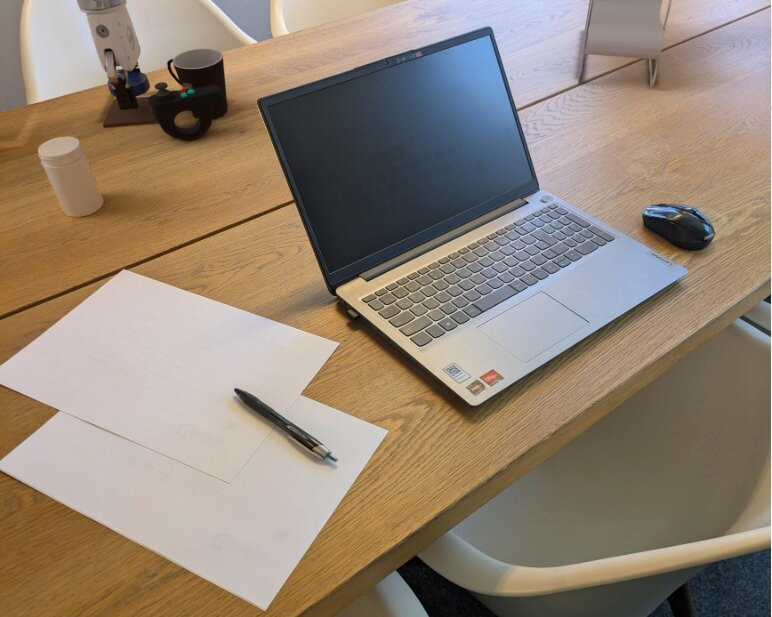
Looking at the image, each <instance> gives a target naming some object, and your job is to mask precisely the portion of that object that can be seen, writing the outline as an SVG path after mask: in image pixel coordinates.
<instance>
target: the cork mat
mask: <svg viewBox="0 0 772 617" xmlns="http://www.w3.org/2000/svg"><path fill="white" fill-rule="evenodd" d="M149 97H150V96H141V97H140V96H136V99H137V102H138V108H137V109H129V110H121V109H120V108H119V105H118V102H117V99H116V98H114V99H113V100H112V102H111V104H110V107H109V109H108V112H107V114H106V116H105V118H104V121H103V123H102V126H103V128H113V127H126V126H127V127H128V126H138V125H150V124H151V125H152V124H158V122H157V120H153V117H152V114H151V112H150V108H152V107H151V106H150V105H149V101H148V98H149Z"/></svg>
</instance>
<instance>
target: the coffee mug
mask: <svg viewBox="0 0 772 617" xmlns="http://www.w3.org/2000/svg"><path fill="white" fill-rule="evenodd" d="M166 65H167V67H166V68H167V70H168V73H169V74H170V75H171V77H172V78H173V79H174V80H175V82H176V83H177V84H178V85H179V86H181V89H191V88H197V87H203V86H208V85H214V84H215V85H218V86H219V88H220V89H221V91H222V92H223V94H224V97H225V98H224V101H223V102H222V103H220V104H219V105H217V106H216V107H214V108H213V120H214V121H215V120H218V119H220V118H223V117H224V116H225V115H227V113H228V112H229V109H228V96H227V86H226V74H225V63H224V54H223V52H221V51H220V50H218V49H215V48H194V49H190V50H185V51H183V52H180V53H179V54H177V55H176V56H174V58H170V59H169V60H167V62H166ZM172 65H173V68H174V70H175V72H176V74H175V73H174V71H173V70H172ZM190 113H191V114H192V117H193V118H194V119H196V120H198V115H197V114H196V113H194V112H192V111H190ZM219 117H220V118H219Z"/></svg>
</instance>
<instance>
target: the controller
mask: <svg viewBox="0 0 772 617" xmlns="http://www.w3.org/2000/svg"><path fill="white" fill-rule="evenodd" d="M168 87H169V84H168V83H167V82H164V81H161V82H158V83H157V82H156V83H155V84H154V89H156V90H157V91H156V93H155V94H152V95H150V96H148V97H149V98H148V101H149V105H150V106H151V107H152V108H150V112H151V114H152V117H153V120H157V122H158V123H157V124H158V126H159V127H160V129H161V130H162V131H163V132H164V133H165V134H166V135H168V136H170V137H171V138H173V139H176V140H179V141H190V140H191V141H192V140H195V139H198V138H200V137H202V136H203V135H205V134H206V132H208V131H209V129H210V128H211V126H212V124H213V108H214V107H216V106H217V105H219V104H220V103H222V102H223V101H224V98H225V97H224V94H223V92H222V91H221V89H220V88H219V86H218V85H215V84H214V85H208V86H203V87H197V88H191V89H183V88H181V89H179V90H169V89H167V88H168ZM191 111H192V112H194V113H196V114H197V115H198V119H196V122H195V123H194V125H192V126H190V127H181V126H179V125H178V124H176V121H175V120H176V118H177V116H178V115H179V114H180V113H182V112H191ZM192 112H191V113H192Z"/></svg>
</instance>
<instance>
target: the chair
mask: <svg viewBox="0 0 772 617" xmlns="http://www.w3.org/2000/svg"><path fill="white" fill-rule="evenodd" d="M662 4H663V0H589V2H588V9H587V14H586V19H585V25H584V31H583V37H582V46H581V53H582V54H581V53H580V54H581V55H580V63H579V70H580V71H578V79H577V83H580V82H581V80H582V75H583V70H584V63H585V62H584V61H585V57H586V55H589V56H605V57H616V58H633V59H647V60H648V72H649V71H650V75H649V88H650V87H651V89H652V88H654V85H655V82H656V80H657V79H656V78H657V73H658V68H659V63H660V62H659V61H660V56H661V54H662V50H663V45H664V39H665V38H664V37H665V31H666V28H667V22H668V19H669V14H670V11H671V6H672V0H668V4H667V9H666V14H665V18H664V22H663V23H662V20H661V10H662ZM652 60H656V61H655V68H654V73H653V65H652Z"/></svg>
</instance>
